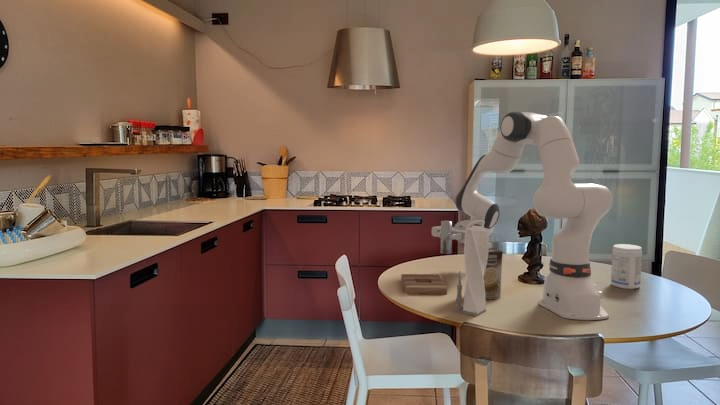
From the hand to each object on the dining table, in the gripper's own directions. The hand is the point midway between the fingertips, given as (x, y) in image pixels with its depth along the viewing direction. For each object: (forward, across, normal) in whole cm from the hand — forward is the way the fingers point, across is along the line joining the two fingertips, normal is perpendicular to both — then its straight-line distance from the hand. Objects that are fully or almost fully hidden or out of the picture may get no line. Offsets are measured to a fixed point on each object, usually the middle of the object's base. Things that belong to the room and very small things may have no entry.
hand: (444, 236), depth 196 cm
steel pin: (-1, 0, +6) cm, 7 cm away
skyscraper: (+24, +28, +17) cm, 41 cm away
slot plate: (+14, 0, +17) cm, 21 cm away
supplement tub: (-40, +52, +17) cm, 68 cm away
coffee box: (+9, +22, +17) cm, 29 cm away
